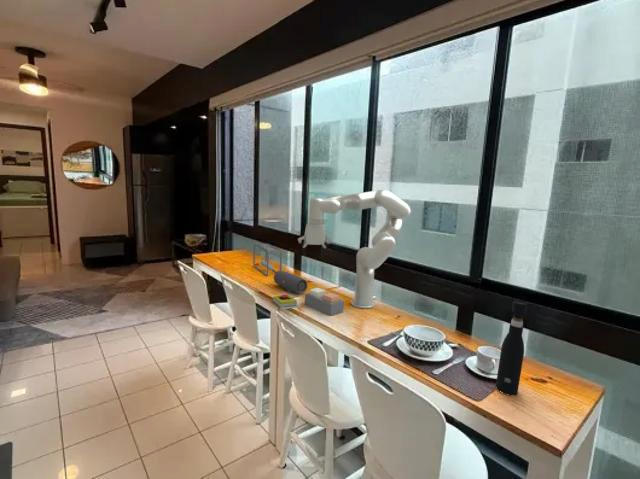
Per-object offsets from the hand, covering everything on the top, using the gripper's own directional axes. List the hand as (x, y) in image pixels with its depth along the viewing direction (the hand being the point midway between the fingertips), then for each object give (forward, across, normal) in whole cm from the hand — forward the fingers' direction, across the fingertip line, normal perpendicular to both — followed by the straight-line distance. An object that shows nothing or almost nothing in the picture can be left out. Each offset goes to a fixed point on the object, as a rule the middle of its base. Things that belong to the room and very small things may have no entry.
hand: (313, 255), depth 178 cm
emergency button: (+28, +12, -4) cm, 31 cm away
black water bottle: (+26, -47, +85) cm, 100 cm away
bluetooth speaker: (+27, +6, -27) cm, 39 cm away
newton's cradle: (+27, +15, -72) cm, 79 cm away
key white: (+23, -4, +1) cm, 24 cm away
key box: (+27, -6, +5) cm, 28 cm away
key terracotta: (+23, -8, +10) cm, 27 cm away
